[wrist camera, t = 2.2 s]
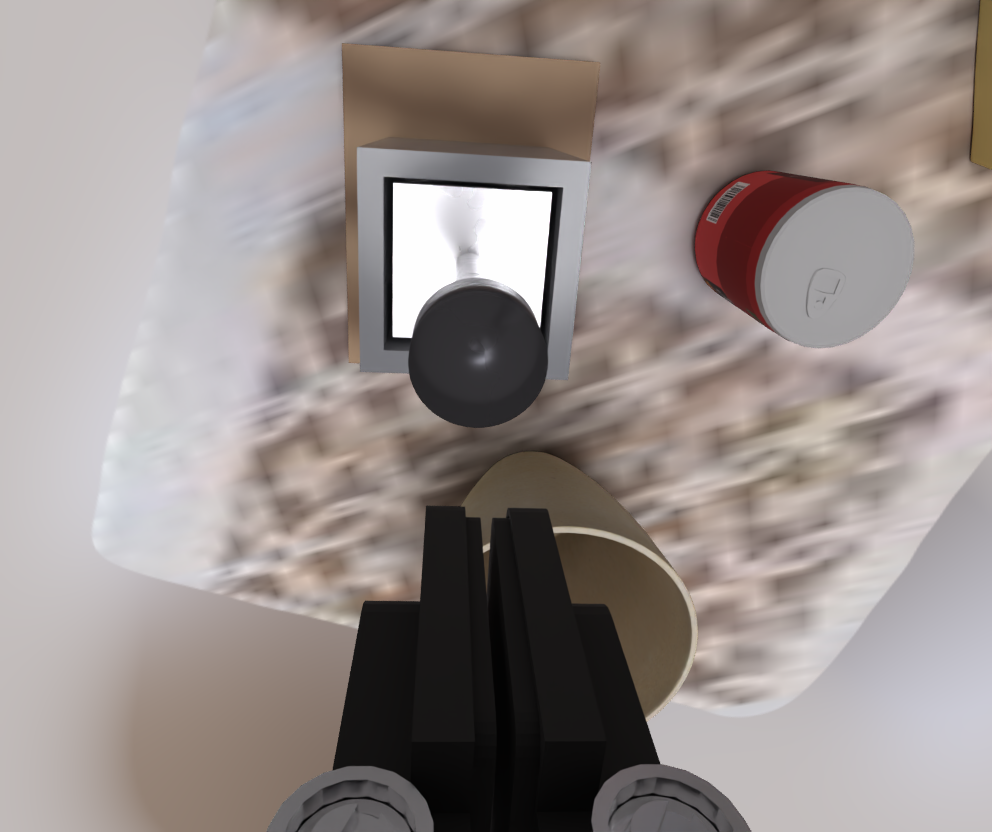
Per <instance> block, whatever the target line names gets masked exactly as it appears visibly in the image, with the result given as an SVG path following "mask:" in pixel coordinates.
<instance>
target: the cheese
mask: <svg viewBox="0 0 992 832" xmlns="http://www.w3.org/2000/svg"><path fill="white" fill-rule="evenodd" d="M971 162H973V163H976V164H979V165H981V166H984V167H986V168H988V169H991V170H992V0H980V12H979V25H978V39H977V54H976V70H975V94H974V122H973V137H972V149H971Z"/></svg>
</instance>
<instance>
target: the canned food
mask: <svg viewBox="0 0 992 832" xmlns="http://www.w3.org/2000/svg"><path fill="white" fill-rule="evenodd" d="M695 253H696V261H697V265H698V268H699V271H700V273H701V275H702V277H703V278H704V280H705V282H706V283H707V284H708V285H709V286H710V287H711V288H712V289H713V290H714V291H715V292H716V293H718V294H719V295H721V296H722V297H724V298H725V299H726V300H728V301H729V302H731V303H732V304H734V305H735V306H737V307H738V308H739V309H741V310H742V311H744V312H745V313H747V314H748V315H750V316H751V317H752V318H754V319H755V320H757V321H758V322H760V323H761V324H763V325H764V326H765V327H767V328H768V329H770V330H771V331H773V332H775V333H776V334H778V335H780V336H781V337H783V338H784V339H786V340H788V341H791V342H793V343H796V344H799V345H801V346H804V347H811V348H829V347H835V346H839V345H843V344H846V343H849V342H851V341H853V340H855V339H857V338H859V337H861V336H863V335H864V334H866V333H867V332H869V331H870V330H872V329H873V328H875V327H876V326H877V325H878V324H879V323H880V322H881V321H882V320H883V319H884V318H885V317H886V316H887V315H888V314H889V313H890V311H891V310H892V309H893V308H894V306H895V305H896V304H897V302H898V301H899V299H900V297H901V295H902V294H903V292H904V290H905V288H906V286H907V283H908V280H909V278H910V275H911V272H912V266H913V261H914V238H913V233H912V228H911V225H910V223H909V221H908V219H907V217H906V214H905V213H904V212H903V210H902V209H901V208H900V207H899V205H898V204H897V203H896V202H895V201H893V200H892V199H890V198H889V197H888V196H886V195H885V194H882V193H880V192H878V191H875V190H873V189H871V188H868V187H865V186H859V185H855V184H850V183H844V182H838V181H831V180H825V179H819V178H813V177H807V176H801V175H794V174H788V173H782V172H775V171H759V172H754V173H750V174H747V175H744V176H742V177H740V178H738V179H736V180H734V181H732V182H731V183H730V184H728V185H727V186H726V187H724V188H723V189H722V190H720V191H719V192H718V193H717V194H716V196H715V197H714V198H713V199H712V200H711V201H710V202H709V204H708V206H707V207H706V209H705V210H704V212H703V214H702V216H701V219H700V221H699V223H698V227H697V231H696V235H695Z"/></svg>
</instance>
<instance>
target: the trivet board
mask: <svg viewBox="0 0 992 832" xmlns="http://www.w3.org/2000/svg"><path fill="white" fill-rule="evenodd" d="M342 66H343V112H344V159H345V205H346V252H347V299H348V345H349V363H360V333H359V266H358V199H357V147H359V146H362V145H365V144H368V143H371V142H374V141H378V140H381V139H384V138H387V137H399V138H414V139H429V140H445V141H460V142H476V143H491V144H507V145H522V146H538V147H549V148H552V149H555V150H558V151H561V152H563V153H566V154H569V155H572V156H575V157H578V158H581V159H584V160H587V161H590V154H591V145H592V136H593V127H594V117H595V108H596V99H597V89H598V80H599V71H600V62H588V61H574V60H561V59H547V58H534V57H520V56H507V55H493V54H480V53H466V52H453V51H439V50H426V49H412V48H399V47H385V46H372V45H358V44H345V43H342Z"/></svg>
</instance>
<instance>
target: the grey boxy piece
mask: <svg viewBox="0 0 992 832" xmlns="http://www.w3.org/2000/svg"><path fill="white" fill-rule="evenodd" d="M590 172H591V162H590V161H587V160H584V159H581V158H578V157H575V156H572V155H569V154H566V153H563V152H561V151H558V150H555V149H552V148H549V147H538V146H522V145H507V144H491V143H476V142H460V141H445V140H429V139H414V138H399V137H387V138H384V139H381V140H378V141H374V142H371V143H368V144H365V145H362V146H359V147H357V199H358V266H359V333H360V372H382V373H407V374H409V368H408V356H409V349H410V344H411V339H412V338H404V337H393V183H394V182H395V181H400V182H416V183H433V184H449V185H466V186H483V187H499V188H516V189H533V190H549V191H551V192H552V197H551V208H550V220H549V231H548V242H547V253H546V264H545V276H544V287H543V298H542V309H541V320H540V330H541V332H542V335H543V337H544V340H545V343H546V347H547V352H548V369H547V375H546V379H556V380H568V374H569V365H570V356H571V346H572V337H573V328H574V319H575V310H576V300H577V291H578V282H579V273H580V264H581V254H582V245H583V236H584V227H585V218H586V208H587V199H588V190H589V181H590Z"/></svg>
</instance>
